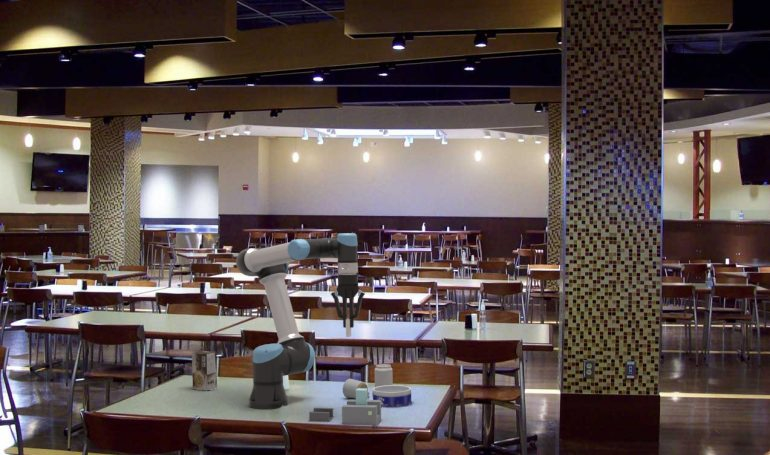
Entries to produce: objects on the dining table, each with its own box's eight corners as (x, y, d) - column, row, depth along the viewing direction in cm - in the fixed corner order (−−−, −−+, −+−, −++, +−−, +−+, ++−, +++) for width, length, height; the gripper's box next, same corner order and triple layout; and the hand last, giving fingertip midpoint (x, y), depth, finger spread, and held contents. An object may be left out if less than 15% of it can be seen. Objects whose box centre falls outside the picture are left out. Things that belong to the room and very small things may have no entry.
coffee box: (217, 388, 367) (217, 351, 367) (207, 391, 362) (206, 353, 362) (202, 387, 372) (202, 350, 372) (191, 389, 366) (191, 352, 366)
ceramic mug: (357, 401, 338) (357, 382, 338) (342, 398, 343) (342, 379, 343) (374, 397, 346) (374, 378, 346) (358, 395, 351) (358, 376, 351)
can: (372, 394, 350) (371, 365, 350) (378, 391, 357) (378, 363, 357) (388, 396, 347) (388, 366, 347) (395, 392, 354) (395, 364, 354)
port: (341, 426, 295) (341, 406, 295) (348, 418, 308) (348, 399, 307) (375, 427, 293) (375, 407, 293) (381, 419, 306) (381, 400, 306)
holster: (307, 424, 300) (307, 412, 300) (313, 418, 309) (313, 407, 309) (329, 424, 299) (329, 413, 299) (334, 418, 308) (334, 407, 308)
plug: (356, 424, 299) (355, 390, 299) (357, 421, 303) (357, 388, 303) (366, 424, 299) (365, 390, 299) (367, 422, 302) (367, 388, 302)
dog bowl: (366, 406, 329) (366, 390, 329) (381, 398, 343) (380, 383, 343) (403, 409, 324) (403, 393, 324) (416, 400, 338) (416, 385, 338)
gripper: (328, 274, 317) (329, 337, 317) (363, 274, 315) (363, 337, 315) (332, 273, 324) (333, 334, 324) (366, 273, 322) (367, 335, 322)
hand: (348, 336), depth 320 cm, fingers closed
